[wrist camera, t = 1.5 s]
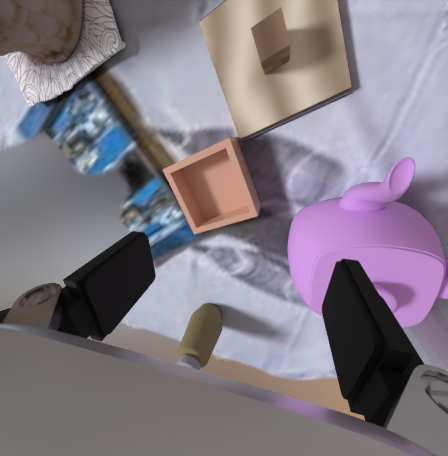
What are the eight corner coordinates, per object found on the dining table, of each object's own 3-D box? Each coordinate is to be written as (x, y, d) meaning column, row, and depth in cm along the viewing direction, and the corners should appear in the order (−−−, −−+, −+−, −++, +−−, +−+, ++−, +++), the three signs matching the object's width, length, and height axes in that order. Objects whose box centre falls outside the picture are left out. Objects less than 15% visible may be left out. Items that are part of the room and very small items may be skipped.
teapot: (417, 285, 33) (504, 384, 20) (286, 273, 39) (287, 343, 26) (472, 137, 24) (705, 139, 11) (290, 153, 30) (294, 166, 17)
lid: (322, -71, 20) (335, -140, 15) (349, 88, 25) (366, 76, 19) (201, 25, 26) (180, -1, 21) (240, 139, 30) (231, 139, 25)
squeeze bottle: (214, 295, 47) (179, 376, 31) (232, 319, 49) (207, 406, 33) (190, 303, 51) (148, 379, 35) (208, 325, 52) (175, 406, 37)
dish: (237, 137, 31) (229, 137, 27) (261, 205, 34) (257, 216, 30) (177, 165, 36) (162, 169, 31) (204, 223, 39) (194, 234, 35)
